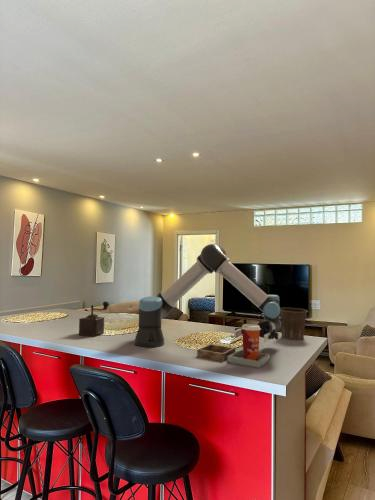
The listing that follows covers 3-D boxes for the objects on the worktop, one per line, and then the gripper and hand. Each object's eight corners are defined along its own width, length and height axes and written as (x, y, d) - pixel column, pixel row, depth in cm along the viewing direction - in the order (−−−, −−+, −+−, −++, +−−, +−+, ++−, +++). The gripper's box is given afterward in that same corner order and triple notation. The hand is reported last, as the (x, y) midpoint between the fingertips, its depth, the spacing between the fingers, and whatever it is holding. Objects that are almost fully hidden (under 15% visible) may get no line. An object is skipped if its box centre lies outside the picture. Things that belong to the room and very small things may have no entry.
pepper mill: (95, 337, 187) (96, 304, 188) (78, 335, 190) (79, 303, 191) (110, 331, 202) (110, 301, 203) (93, 330, 205) (94, 300, 206)
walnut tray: (197, 356, 153) (197, 349, 154) (210, 350, 165) (210, 343, 165) (223, 361, 147) (223, 354, 147) (235, 354, 158) (235, 347, 158)
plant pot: (309, 341, 188) (309, 312, 188) (279, 339, 191) (279, 310, 192) (305, 335, 204) (305, 308, 204) (277, 333, 207) (277, 307, 207)
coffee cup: (251, 364, 142) (251, 327, 143) (237, 359, 149) (237, 324, 149) (264, 360, 147) (264, 325, 148) (250, 356, 154) (250, 323, 154)
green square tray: (227, 362, 145) (227, 356, 146) (239, 354, 158) (239, 349, 158) (259, 368, 138) (259, 361, 138) (269, 359, 150) (269, 354, 150)
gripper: (291, 340, 159) (278, 349, 141) (241, 333, 172) (223, 341, 154) (291, 323, 160) (278, 331, 142) (241, 318, 173) (223, 324, 154)
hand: (249, 336), depth 148 cm, fingers open, 13 cm apart
